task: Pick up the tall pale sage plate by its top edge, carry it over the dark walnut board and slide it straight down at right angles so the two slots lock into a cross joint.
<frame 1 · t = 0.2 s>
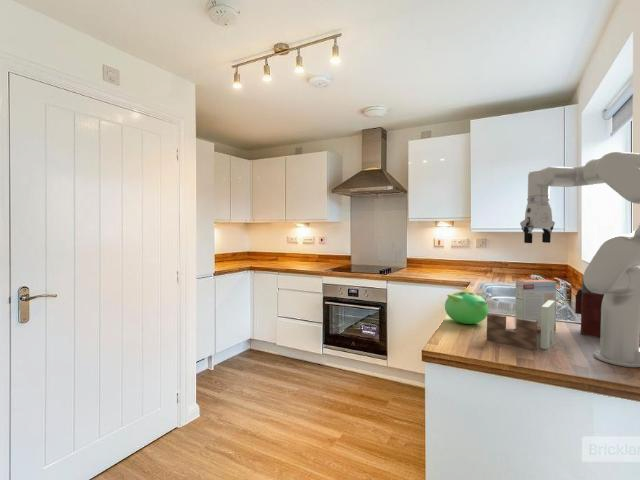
hand: (537, 242, 141), 37 cm above the worktop, tool pointing down, fingers open, 9 cm apart
toy bird: (465, 323, 154), on the worktop
cracker box: (534, 330, 144), on the worktop
dark red canister: (591, 333, 139), on the worktop
walnut board: (510, 343, 127), on the worktop
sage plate: (547, 343, 128), on the worktop
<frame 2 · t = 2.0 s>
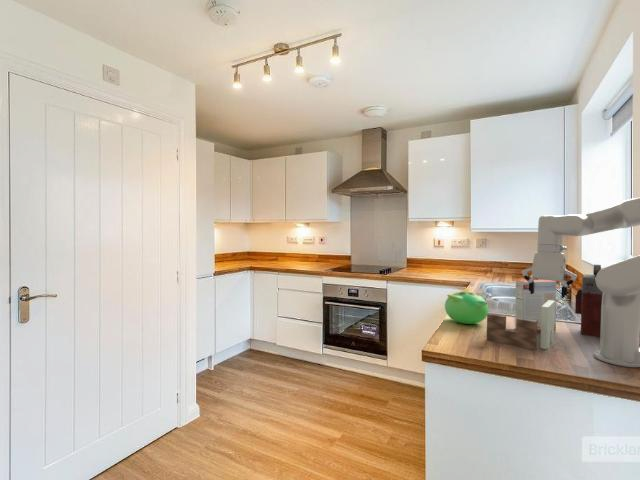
hand: (547, 295, 127), 18 cm above the worktop, tool pointing down, fingers open, 9 cm apart
nothing on the worktop moved.
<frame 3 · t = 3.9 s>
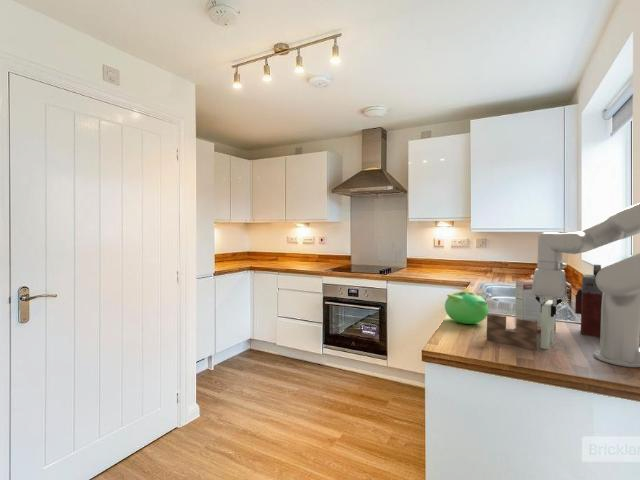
hand: (548, 315, 127), 11 cm above the worktop, tool pointing down, fingers closed on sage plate, 2 cm apart
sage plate: (547, 343, 128), on the worktop, touching gripper
everything else where it was.
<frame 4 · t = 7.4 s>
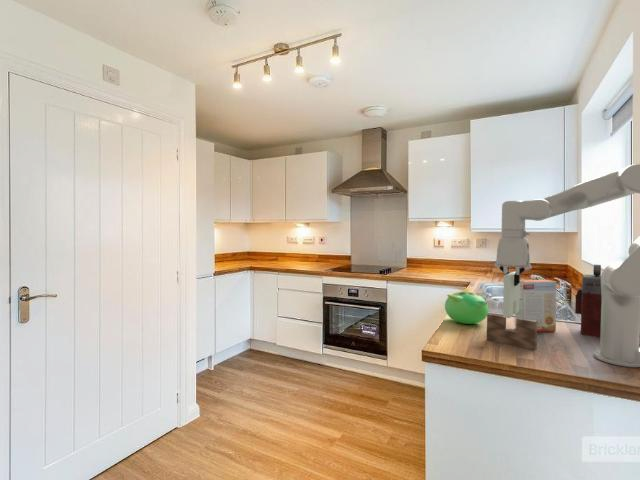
hand: (512, 284, 126), 22 cm above the worktop, tool pointing down, fingers closed on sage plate
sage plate: (511, 314, 127), point 11 cm above the worktop, touching gripper
everything else where it was.
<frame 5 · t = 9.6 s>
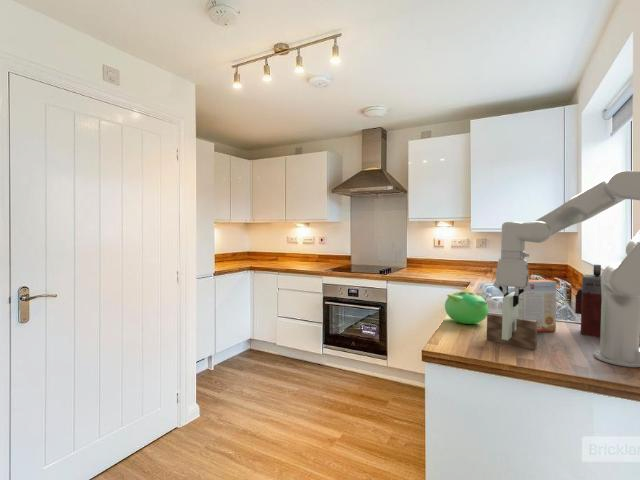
hand: (510, 305, 127), 15 cm above the worktop, tool pointing down, fingers closed on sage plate
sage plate: (510, 335, 127), point 3 cm above the worktop, touching gripper
everything else where it was.
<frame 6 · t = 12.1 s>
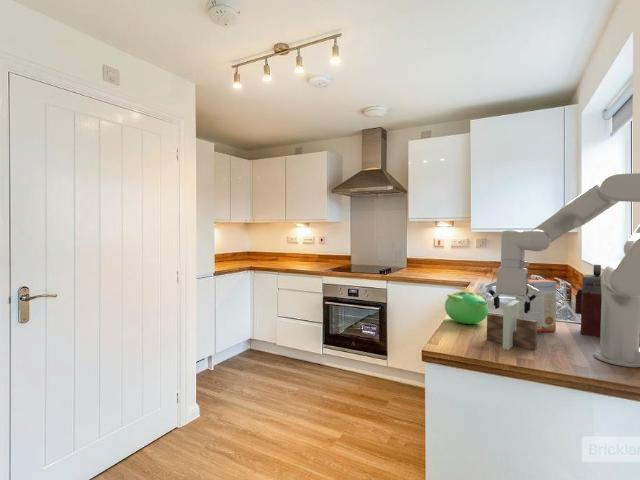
hand: (511, 310, 127), 13 cm above the worktop, tool pointing down, fingers open, 9 cm apart
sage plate: (510, 343, 127), on the worktop, touching walnut board
everything else where it was.
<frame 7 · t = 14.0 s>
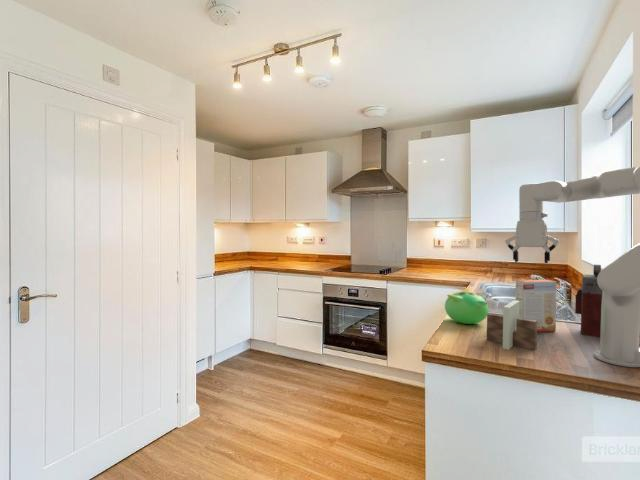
hand: (531, 262, 130), 30 cm above the worktop, tool pointing down, fingers open, 9 cm apart
nothing on the worktop moved.
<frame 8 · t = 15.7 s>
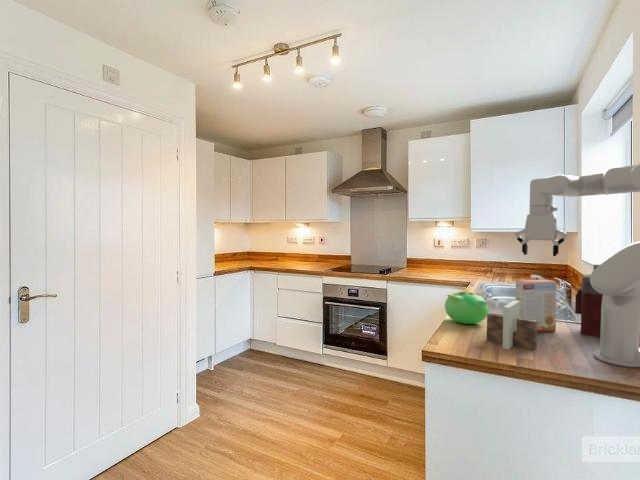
hand: (539, 255, 133), 32 cm above the worktop, tool pointing down, fingers open, 9 cm apart
nothing on the worktop moved.
at the end: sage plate 0.1 cm off-centre on the walnut board, point 0.0 cm above the walnut board's base; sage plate tilted 0°; the gripper is holding nothing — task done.
